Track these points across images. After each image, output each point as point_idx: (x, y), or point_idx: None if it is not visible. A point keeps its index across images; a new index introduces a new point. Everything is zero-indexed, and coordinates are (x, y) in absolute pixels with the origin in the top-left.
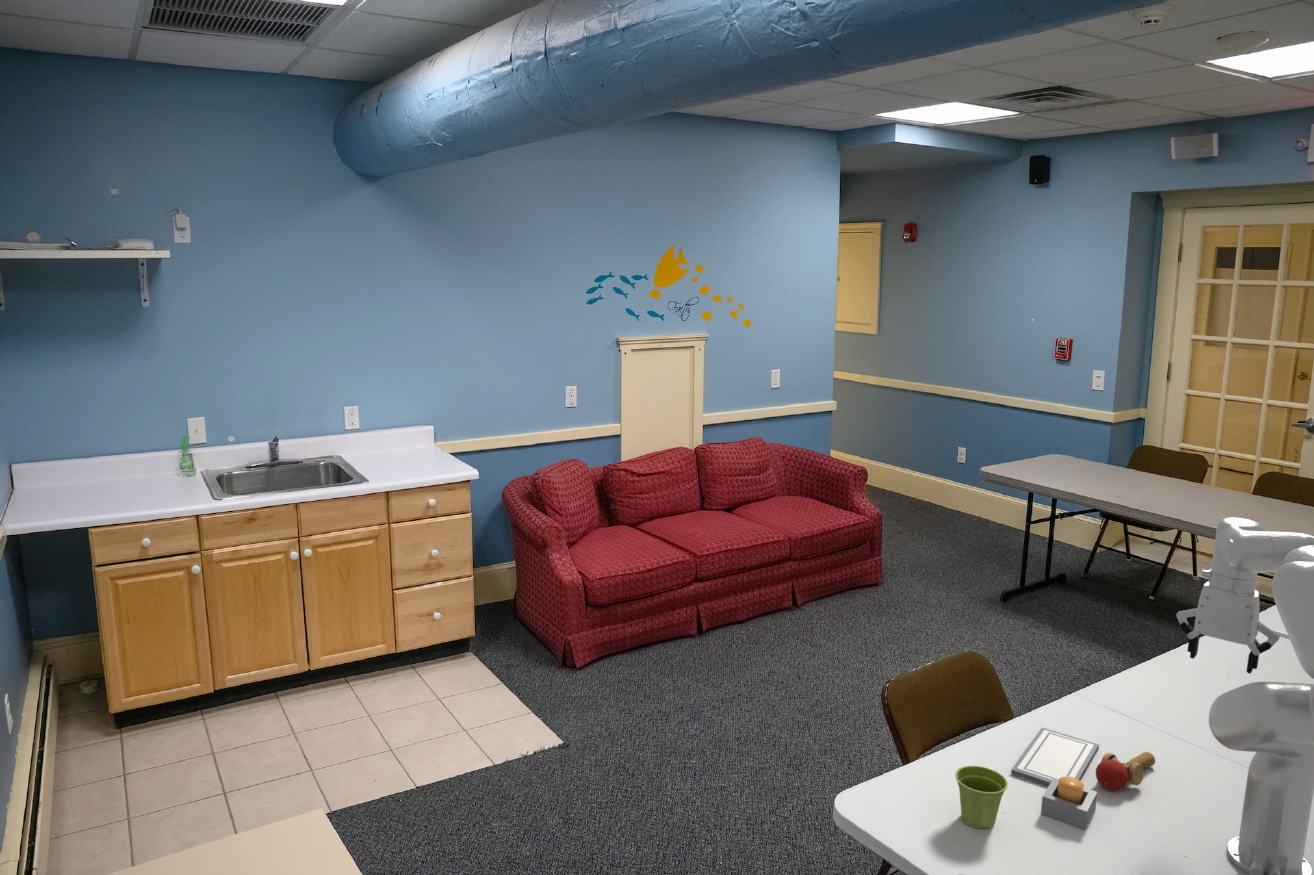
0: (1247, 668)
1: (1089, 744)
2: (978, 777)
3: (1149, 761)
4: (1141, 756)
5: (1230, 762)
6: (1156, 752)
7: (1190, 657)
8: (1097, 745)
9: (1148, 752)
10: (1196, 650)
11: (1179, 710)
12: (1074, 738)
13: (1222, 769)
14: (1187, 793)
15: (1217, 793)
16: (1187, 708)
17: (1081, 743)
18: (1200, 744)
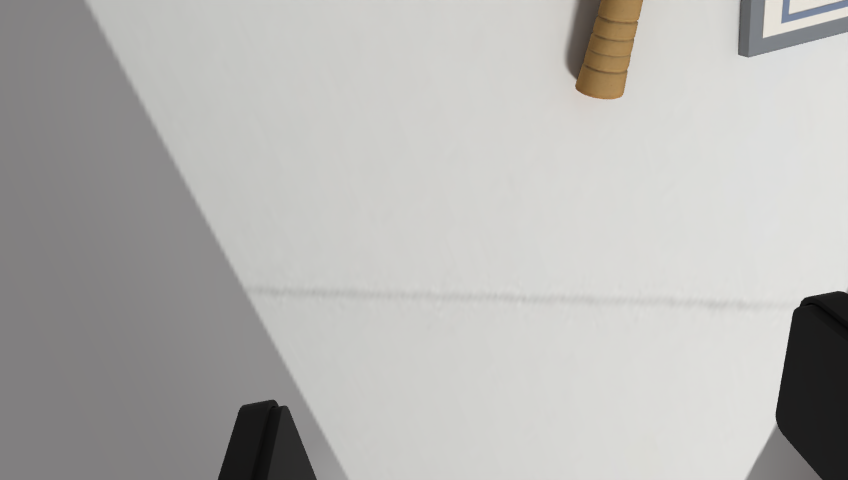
0: (269, 438)
1: (776, 27)
2: None
3: (591, 58)
4: (621, 42)
5: (426, 286)
6: (590, 180)
7: (837, 291)
8: (751, 45)
9: (609, 95)
10: (833, 419)
11: (604, 421)
12: (826, 26)
13: (427, 236)
14: (443, 9)
15: (382, 91)
16: (592, 441)
17: (801, 9)
18: (514, 312)
